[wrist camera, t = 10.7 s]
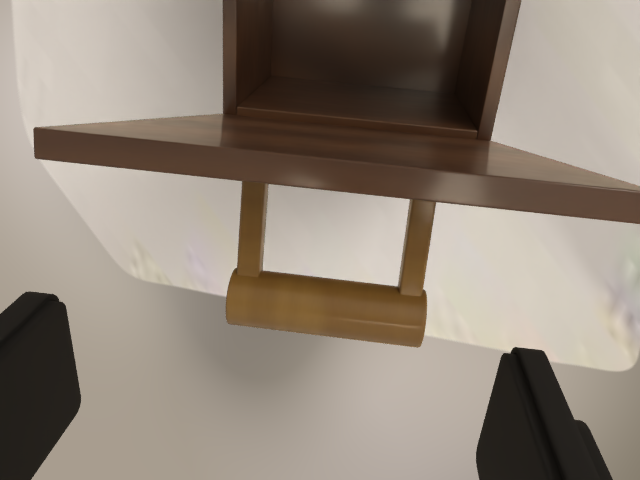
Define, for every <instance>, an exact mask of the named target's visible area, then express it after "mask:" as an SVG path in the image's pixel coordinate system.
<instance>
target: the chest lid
mask: <svg viewBox="0 0 640 480" xmlns="http://www.w3.org/2000/svg"><path fill="white" fill-rule="evenodd" d="M34 156H35V158H36V159H43V160H52V161H61V162H71V163H80V164H89V165H98V166H108V167H117V168H126V169H135V170H145V171H154V172H163V173H173V174H182V175H191V176H200V177H210V178H219V179H228V180H237V181H242V194H241V211H240V228H239V245H238V262H237V268H235V269H234V271H233V273H232V275H231V278H230V282H229V286H228V291H227V298H226V319H227V322H228V324H232V325H240V326H248V327H256V328H264V329H272V330H280V331H288V332H296V333H304V334H312V335H321V336H329V337H337V338H345V339H354V340H361V341H369V342H377V343H385V344H393V345H402V346H410V347H420V346H421V343H422V341H423V337H424V332H425V325H426V316H427V295H426V291H425V290H423V285H424V279H425V272H426V265H427V259H428V252H429V246H430V239H431V232H432V226H433V219H434V213H435V206H436V202H441V203H450V204H459V205H469V206H478V207H487V208H496V209H506V210H515V211H524V212H533V213H543V214H552V215H561V216H570V217H580V218H589V219H598V220H608V221H617V222H626V223H635V224H640V186H638V185H634V184H631V183H628V182H625V181H621V180H618V179H615V178H611V177H608V176H605V175H602V174H598V173H595V172H592V171H588V170H585V169H582V168H579V167H575V166H572V165H569V164H566V163H562V162H559V161H556V160H552V159H549V158H546V157H543V156H539V155H536V154H533V153H529V152H526V151H523V150H520V149H516V148H513V147H510V146H506V145H503V144H500V143H497V142H493V141H487V140H478V139H468V138H458V137H448V136H438V135H428V134H418V133H408V132H398V131H388V130H378V129H369V128H359V127H349V126H339V125H329V124H319V123H309V122H299V121H289V120H279V119H270V118H260V117H250V116H240V115H230V114H211V115H197V116H184V117H170V118H156V119H143V120H129V121H116V122H102V123H89V124H75V125H61V126H48V127H35V128H34ZM269 184H274V185H284V186H293V187H302V188H311V189H321V190H330V191H339V192H348V193H358V194H367V195H376V196H385V197H395V198H404V199H410V203H409V210H408V218H407V225H406V232H405V239H404V246H403V253H402V261H401V268H400V275H399V282H398V286H389V285H381V284H372V283H364V282H355V281H347V280H338V279H330V278H321V277H313V276H304V275H296V274H287V273H279V272H270V271H262V269H263V255H264V241H265V227H266V213H267V199H268V185H269Z"/></svg>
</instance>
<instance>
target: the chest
mask: <svg viewBox="0 0 640 480" xmlns="http://www.w3.org/2000/svg"><path fill="white" fill-rule="evenodd" d="M520 4H521V0H223V114H230V115H240V116H250V117H260V118H270V119H279V120H289V121H299V122H309V123H319V124H329V125H339V126H349V127H359V128H369V129H378V130H388V131H398V132H408V133H418V134H428V135H438V136H448V137H458V138H468V139H478V140H487V141H490V140H491V136H492V131H493V127H494V122H495V118H496V113H497V109H498V104H499V99H500V95H501V90H502V86H503V81H504V77H505V72H506V68H507V63H508V59H509V54H510V50H511V45H512V40H513V36H514V31H515V27H516V22H517V18H518V13H519V9H520Z"/></svg>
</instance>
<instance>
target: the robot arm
mask: <svg viewBox="0 0 640 480" xmlns="http://www.w3.org/2000/svg"><path fill="white" fill-rule="evenodd" d="M80 403H81V394H80V388H79V382H78V376H77V370H76V364H75V359H74V352H73V347H72V340H71V335H70V328H69V322H68V316H67V310H66V306H65V304H64V303H63V302H59V299H58V297H57V296H56V295H54V294H47V293H38V292H25V293H24V294H22V295H21V296H20V297H19V298H18V299H17V300H16V301H14V303H12V304H11V305H10V306H9V307H8V308H7V309H5V310H4V311H3V312H2V313H1V314H0V480H31V479H32V477H33V476H34V474H35V473H36V472H37V470H38V469H39V467H40V466H41V464H42V463H43V461H44V460H45V459H46V457H47V456H48V454H49V453H50V451H51V450H52V448H53V447H54V446H55V444H56V443H57V442H58V440H59V439H60V437H61V436H62V434H63V433H64V431H65V430H66V428H67V427H68V426H69V424H70V423H71V421H72V420H73V419H74V417H75V416H76V414H77V412H78V410H79V407H80ZM476 463H477V470H478V475H479V480H613V479H612V477H611V475H610V473H609V471H608V468H607V466H606V464H605V462H604V460H603V457H602V455H601V453H600V451H599V449H598V447H597V445H596V442H595V440H594V438H593V436H592V434H591V431H590V429H589V428H588V426H587V425H586V424H585V423H584V422H583V421H580V420H574V418H573V415H572V413H571V411H570V409H569V406H568V404H567V402H566V400H565V397H564V395H563V393H562V390H561V388H560V386H559V383H558V381H557V379H556V377H555V374H554V372H553V370H552V367H551V365H550V363H549V361H548V358H547V356H546V354H545V352H544V351H542V350H535V349H526V348H518V347H515V348H513V349H512V351H511V353H510V354H508V353H504V354H503V355H502V357H501V360H500V363H499V367H498V371H497V375H496V378H495V382H494V386H493V390H492V393H491V397H490V401H489V404H488V409H487V413H486V416H485V419H484V423H483V427H482V431H481V434H480V438H479V442H478V446H477V452H476Z"/></svg>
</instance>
